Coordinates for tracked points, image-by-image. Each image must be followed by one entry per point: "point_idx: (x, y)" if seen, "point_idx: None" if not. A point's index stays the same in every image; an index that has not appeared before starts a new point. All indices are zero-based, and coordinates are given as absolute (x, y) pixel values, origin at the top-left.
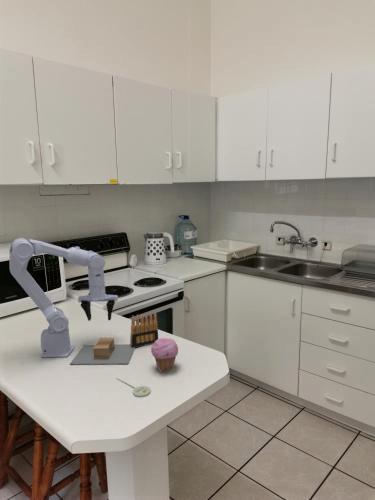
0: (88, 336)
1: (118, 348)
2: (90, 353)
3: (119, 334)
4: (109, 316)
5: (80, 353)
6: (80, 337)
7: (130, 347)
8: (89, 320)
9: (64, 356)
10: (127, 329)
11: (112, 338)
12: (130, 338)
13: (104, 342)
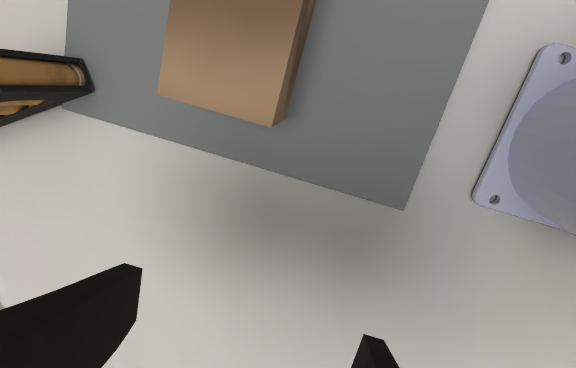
0: None
1: None
2: (362, 45)
3: (181, 298)
4: (85, 282)
5: (436, 65)
6: (420, 340)
7: (92, 66)
8: (368, 336)
9: (565, 47)
10: (140, 347)
11: (167, 79)
12: (47, 90)
13: (232, 3)
